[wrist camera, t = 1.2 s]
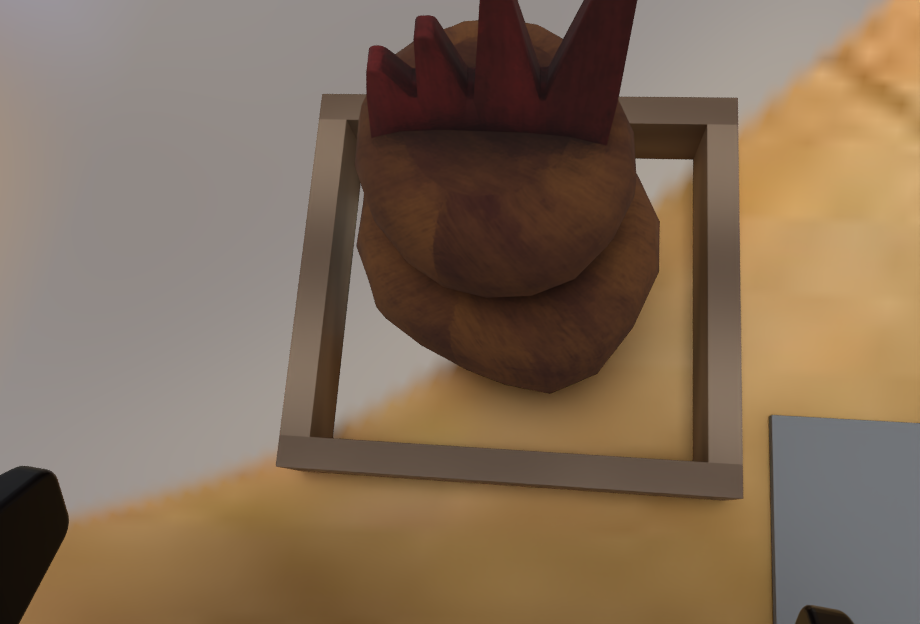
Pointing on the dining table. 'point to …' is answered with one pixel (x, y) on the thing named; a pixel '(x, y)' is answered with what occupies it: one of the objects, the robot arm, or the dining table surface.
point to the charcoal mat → (845, 518)
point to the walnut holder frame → (706, 477)
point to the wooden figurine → (507, 193)
